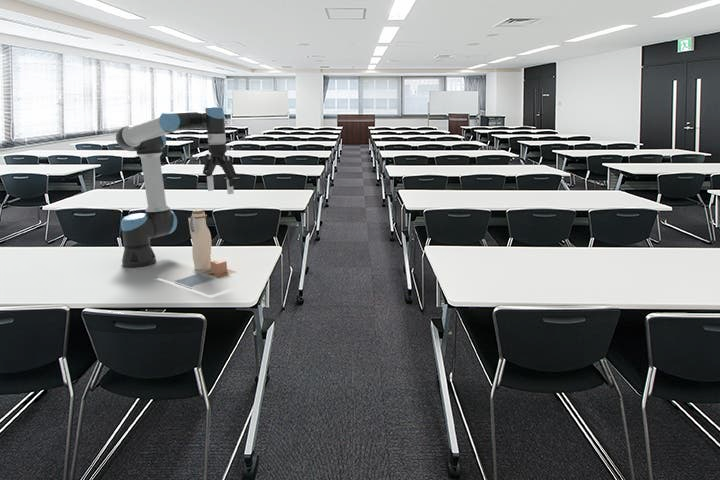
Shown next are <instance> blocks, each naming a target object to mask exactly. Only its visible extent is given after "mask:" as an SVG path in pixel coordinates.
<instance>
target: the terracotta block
mask: <svg viewBox="0 0 720 480" xmlns="http://www.w3.org/2000/svg"><path fill="white" fill-rule="evenodd" d="M210 265H211V268H210V270H211V273H214V274H218V275H219V274H222V273H225V272H227V269H228V266H227V265H228V263H227V260H223V259H220V258H218V259H216V260H211V262H210Z"/></svg>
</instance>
